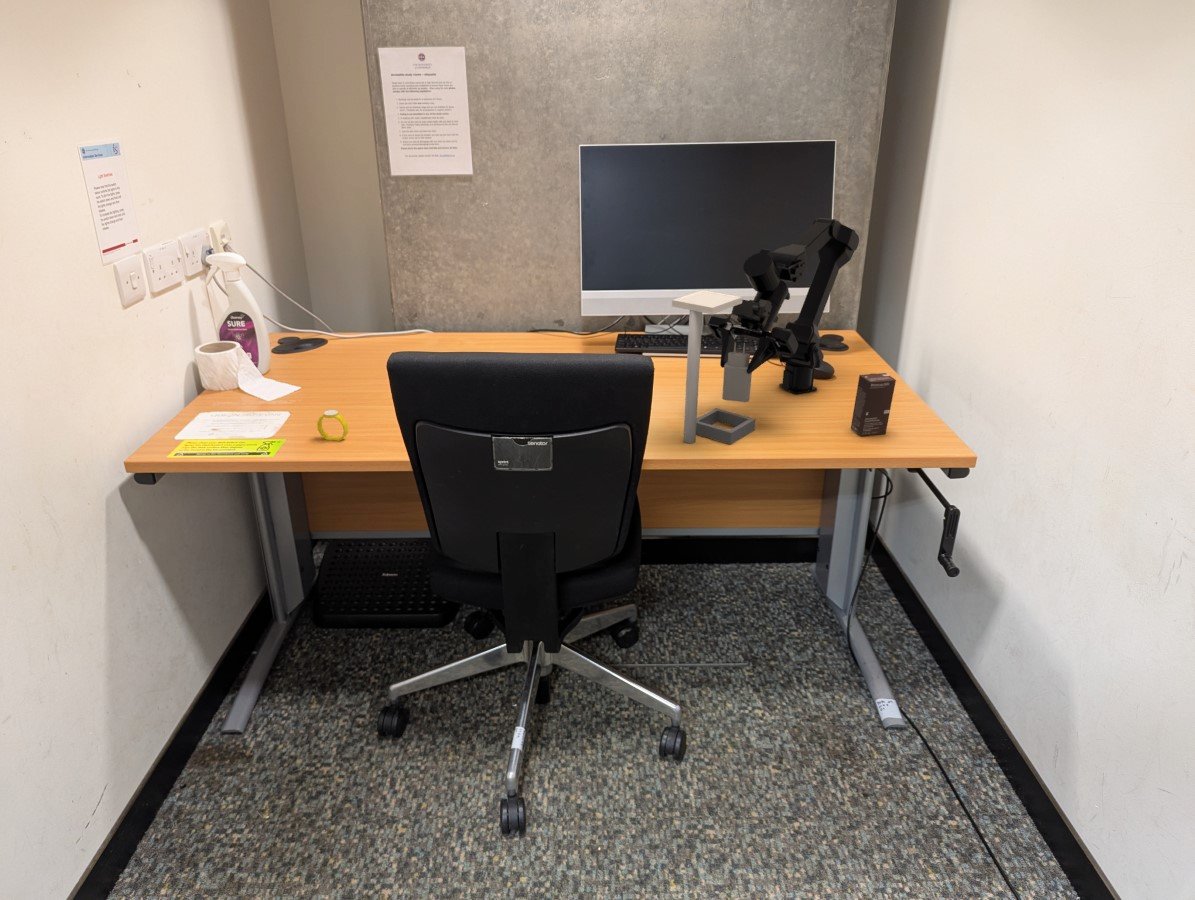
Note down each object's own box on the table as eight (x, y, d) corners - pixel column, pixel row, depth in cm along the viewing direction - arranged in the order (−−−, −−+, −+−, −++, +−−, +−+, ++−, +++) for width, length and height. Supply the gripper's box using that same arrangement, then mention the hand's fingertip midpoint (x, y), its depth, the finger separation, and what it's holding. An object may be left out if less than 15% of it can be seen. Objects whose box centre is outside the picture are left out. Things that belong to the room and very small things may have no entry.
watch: (350, 439, 163) (349, 411, 161) (344, 444, 161) (342, 417, 158) (323, 434, 164) (321, 407, 162) (316, 440, 162) (314, 412, 159)
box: (861, 437, 163) (869, 381, 158) (849, 429, 167) (857, 374, 162) (888, 434, 164) (897, 379, 159) (876, 426, 168) (884, 371, 163)
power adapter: (748, 402, 164) (752, 345, 159) (721, 399, 166) (725, 343, 161) (750, 397, 167) (754, 341, 162) (724, 394, 169) (727, 339, 164)
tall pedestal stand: (706, 416, 173) (714, 286, 162) (754, 430, 167) (766, 295, 155) (666, 437, 163) (671, 300, 151) (716, 453, 156) (725, 310, 145)
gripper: (714, 276, 165) (681, 340, 162) (797, 289, 154) (763, 358, 151) (731, 306, 174) (701, 367, 171) (811, 321, 163) (780, 387, 160)
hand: (734, 369), depth 163 cm, fingers closed on power adapter, 6 cm apart
